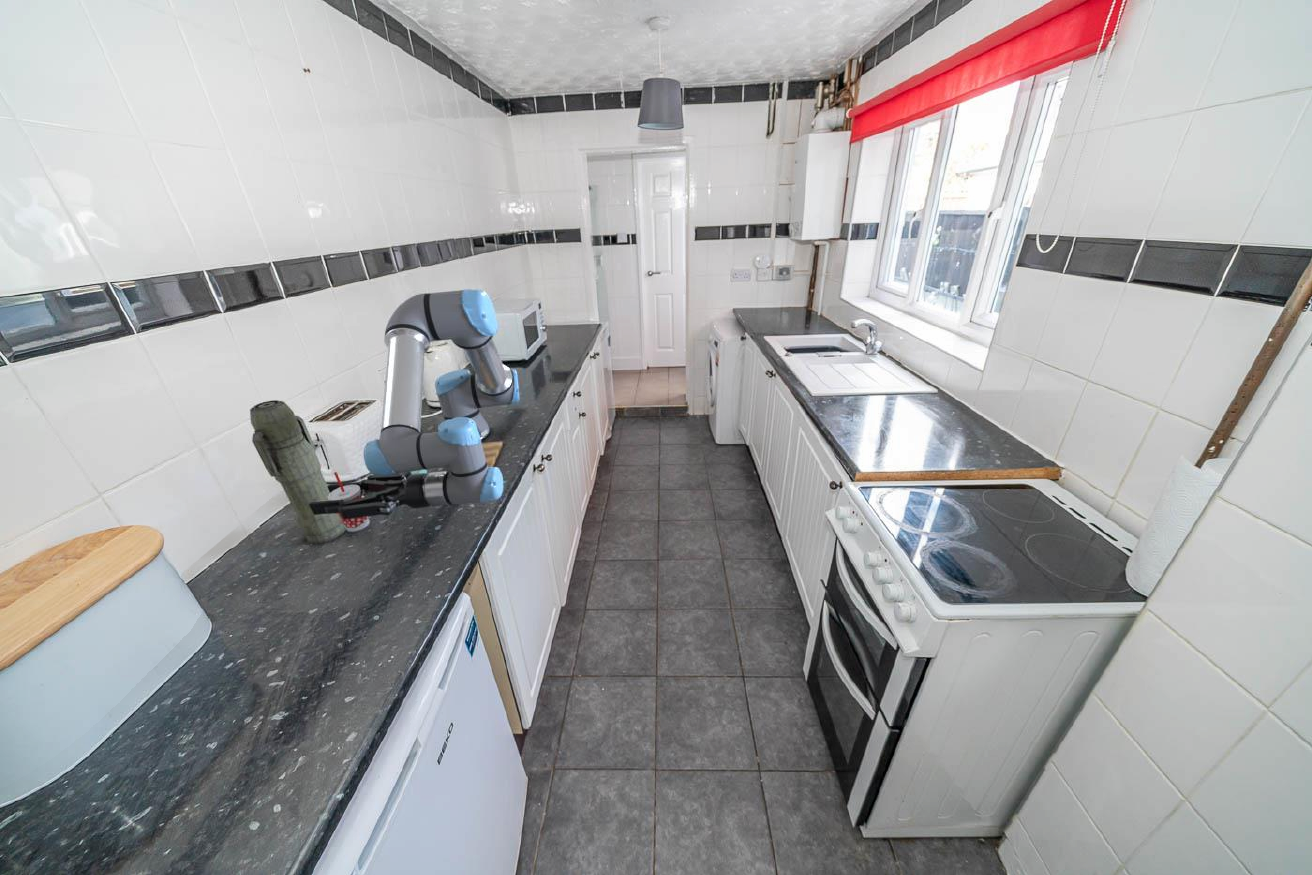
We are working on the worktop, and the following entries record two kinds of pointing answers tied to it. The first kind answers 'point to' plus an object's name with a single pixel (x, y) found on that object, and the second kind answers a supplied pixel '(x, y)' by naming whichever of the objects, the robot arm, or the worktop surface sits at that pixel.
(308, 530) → the thermos
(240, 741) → the worktop surface
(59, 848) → the worktop surface
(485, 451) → the chopping board
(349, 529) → the beverage cup
